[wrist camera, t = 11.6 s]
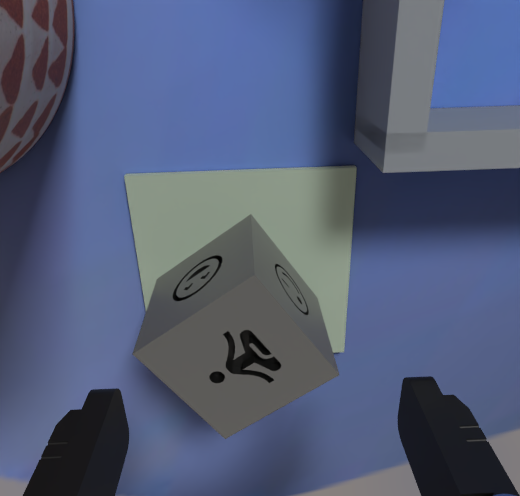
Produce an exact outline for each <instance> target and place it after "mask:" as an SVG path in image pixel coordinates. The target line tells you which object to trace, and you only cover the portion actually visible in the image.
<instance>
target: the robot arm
mask: <svg viewBox="0 0 520 496" xmlns="http://www.w3.org/2000/svg"><path fill="white" fill-rule="evenodd" d="M398 430H399V435H400V439H401V442H402V445H403V447H404V450H405V453H406V455H407V458H408V461H409V464H410V466H411V469H412V471H413V474H414V477H415V480H416V483H417V485H418V488H419V490H420V493H421V496H519V494H518V492H517V491H516V489H515V487H514V486H513V484H512V482H511V480H510V479H509V477H508V475H507V473H506V472H505V470H504V468H503V466H502V465H501V463H500V461H499V460H498V458H497V456H496V455H495V453H494V451H493V449H492V447H491V446H490V444H489V442H487V441H486V437H485V435H484V433H483V432H482V430H481V428H479V425H478V423H477V421H476V420H475V418H474V416H473V414H472V413H471V411H470V409H469V408H468V407H467V406H466V405H465V404H463V403H462V402H461V401H460V400H459V399H458V398H457V397H456V396H454V395H443V394H442V393H441V391H440V389H439V387H438V385H437V383H436V381H435V380H434V378H433V377H431V376H430V377H406V378H404V379H403V383H402V390H401V397H400V404H399V411H398ZM128 444H129V428H128V423H127V418H126V413H125V409H124V404H123V400H122V395H121V392H120V390H119V389H96V390H91V391H90V392H89V394H88V396H87V398H86V400H85V403H84V405H83V407H82V409H81V410H70V411H69V412H68V413H67V414H66V415H65V416H64V417H63V418H62V420H61V421H60V422H59V423H58V424H57V425H56V426H55V429H54V431H53V433H52V435H51V437H50V439H49V441H48V446H46V448H45V450H44V452H43V454H42V456H41V457H42V458H41V460H39V462H38V465H37V467H36V469H35V471H34V473H33V475H32V477H31V479H30V481H29V484H28V486H27V488H26V490H25V492H24V494H23V496H115V493H116V489H117V486H118V482H119V479H120V475H121V471H122V468H123V464H124V461H125V457H126V454H127V450H128Z"/></svg>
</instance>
